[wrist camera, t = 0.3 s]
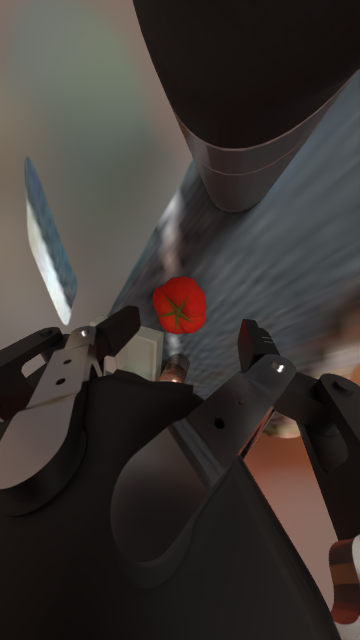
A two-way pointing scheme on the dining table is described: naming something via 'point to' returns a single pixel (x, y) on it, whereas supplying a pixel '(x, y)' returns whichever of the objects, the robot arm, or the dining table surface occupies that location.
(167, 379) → the clear lidded jar
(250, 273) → the dining table surface
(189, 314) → the tomato
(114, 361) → the off-white tapered piece
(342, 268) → the dining table surface
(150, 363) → the tote
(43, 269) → the dining table surface
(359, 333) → the dining table surface
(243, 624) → the robot arm
